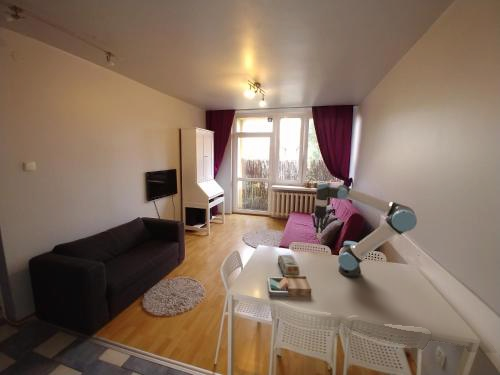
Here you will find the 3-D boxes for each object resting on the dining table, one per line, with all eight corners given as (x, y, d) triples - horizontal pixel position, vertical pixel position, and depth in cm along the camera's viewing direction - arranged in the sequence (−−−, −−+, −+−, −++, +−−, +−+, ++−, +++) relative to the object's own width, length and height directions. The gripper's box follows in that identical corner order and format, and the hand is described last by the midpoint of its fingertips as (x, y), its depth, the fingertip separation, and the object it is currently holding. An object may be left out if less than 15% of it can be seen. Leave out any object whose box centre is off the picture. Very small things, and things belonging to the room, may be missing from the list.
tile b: (270, 278, 145) (269, 280, 145) (271, 283, 139) (269, 286, 139) (278, 282, 145) (276, 285, 145) (279, 288, 139) (278, 290, 139)
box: (284, 281, 151) (284, 277, 150) (288, 296, 135) (288, 292, 134) (267, 280, 151) (267, 276, 150) (269, 296, 135) (269, 291, 134)
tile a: (287, 278, 145) (284, 277, 144) (288, 284, 139) (286, 282, 139) (280, 285, 145) (278, 283, 145) (282, 291, 140) (279, 289, 139)
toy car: (290, 261, 178) (291, 250, 176) (299, 279, 153) (300, 266, 152) (277, 262, 177) (277, 250, 175) (284, 280, 152) (285, 266, 151)
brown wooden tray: (305, 282, 150) (305, 276, 149) (310, 296, 136) (311, 288, 135) (284, 282, 150) (284, 275, 149) (287, 295, 136) (288, 288, 135)
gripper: (328, 204, 160) (325, 235, 164) (310, 203, 160) (307, 235, 164) (332, 206, 152) (329, 239, 156) (313, 206, 152) (310, 239, 156)
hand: (318, 237), depth 160 cm, fingers closed
